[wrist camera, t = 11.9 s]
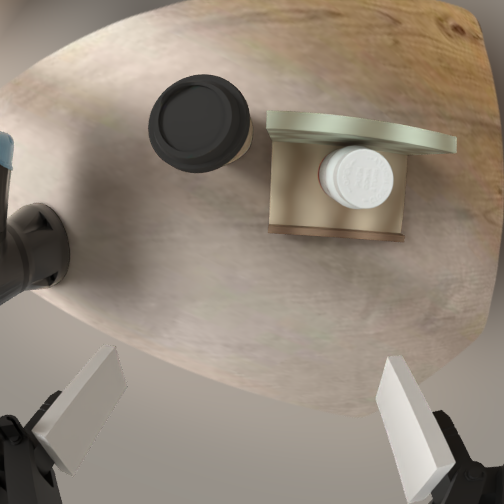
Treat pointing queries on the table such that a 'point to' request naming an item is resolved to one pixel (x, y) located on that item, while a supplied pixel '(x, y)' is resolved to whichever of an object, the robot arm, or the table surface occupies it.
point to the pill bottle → (356, 177)
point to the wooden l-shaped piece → (307, 163)
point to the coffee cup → (200, 124)
